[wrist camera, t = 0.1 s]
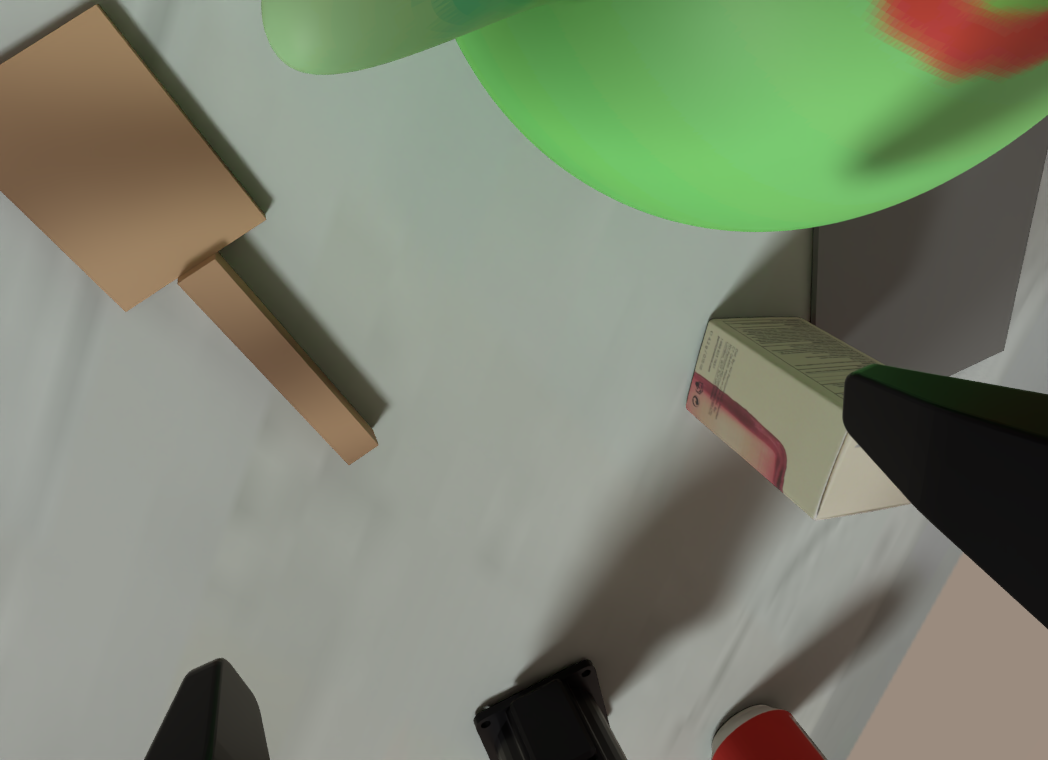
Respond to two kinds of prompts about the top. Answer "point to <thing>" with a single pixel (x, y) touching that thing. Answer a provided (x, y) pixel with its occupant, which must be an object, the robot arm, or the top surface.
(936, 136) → the toy bird
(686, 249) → the top surface
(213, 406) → the top surface
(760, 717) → the beverage can
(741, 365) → the small box
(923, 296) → the mat
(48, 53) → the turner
